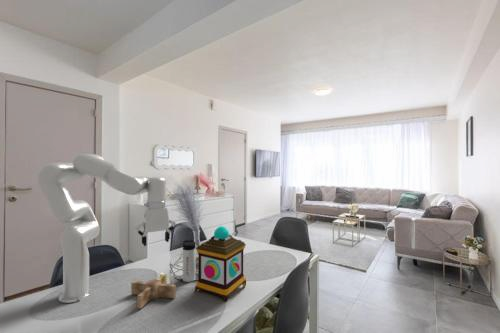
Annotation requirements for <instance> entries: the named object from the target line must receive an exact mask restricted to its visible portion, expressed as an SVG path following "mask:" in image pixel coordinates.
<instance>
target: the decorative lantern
mask: <svg viewBox="0 0 500 333" xmlns="http://www.w3.org/2000/svg"><path fill="white" fill-rule="evenodd" d="M245 247H246V243H245V242H244V241H242V240H241V239H236V238H235V237H233V235H231V234H230V232H229V229H228V228H227V227H225V226H223V225H220V226H218V227H217V228H216V229H215V230H214V233H213V236H211V237H210V238H209V239H208V240H206V241H204V242H201V243H200V245H198V246H197V247H196V253H197V255H198V256H197V257H198V260H197V261H198V264H197V265H198V268H197V269H198V273H197V274H198V280H197V281H196V284H195V286H194V291H195V292H199V291H200V290H202V291H204V292H208V293H212V294H214V295H218V296H221V297H223V300H224V302H228V301H229V300H228V299H229V296H230V295H231V294H232V293H234V292H235V291H236V290H237V289H238V288H239V287H241V286H242V287H246V286H247V279H246V277H245V274H244V249H245Z"/></svg>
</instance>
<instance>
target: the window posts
mask: <svg viewBox="0 0 500 333" xmlns="http://www.w3.org/2000/svg"><path fill="white" fill-rule="evenodd" d="M163 274H164V273H163V272H160V273H159V277H160V276H161V275H163ZM174 276H175V275H174V273H170V274H169V284H172V285H175V284H174V283H175V282H174V280H175V279H174V278H175V277H174Z"/></svg>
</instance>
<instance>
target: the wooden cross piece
mask: <svg viewBox="0 0 500 333" xmlns="http://www.w3.org/2000/svg"><path fill="white" fill-rule="evenodd" d="M167 277H168V276H167V273H163V275H161V276H160V275H159V277H157V278H156V279H151V280H148V281H137V280H133V281H131V283H130V284H131V287H130V288H131V289H130V290H131V291H130V292H131V293H130V294H131V295H136V296H137V309H143V308H144V307H145V306H146V305H147V304H148V303H149V302H150V301H154V300H158V299H159V298H166V299H175V298H176V296H177V290H176V289H177V286H176V284H173V285H172V284H170V283H167V282H168V281H167Z"/></svg>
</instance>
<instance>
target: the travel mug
mask: <svg viewBox="0 0 500 333" xmlns="http://www.w3.org/2000/svg"><path fill="white" fill-rule="evenodd" d="M196 248H197V247H196V241H194V240H190V239H189V240H188V239H185V240H183V241H182V281H183V282H186V283H189V282H193V281H195V280H196V273H197V272H196V271H197V270H196V267H197V266H196V261H197V260H196V255H197V254H196V253H197V250H196Z"/></svg>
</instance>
